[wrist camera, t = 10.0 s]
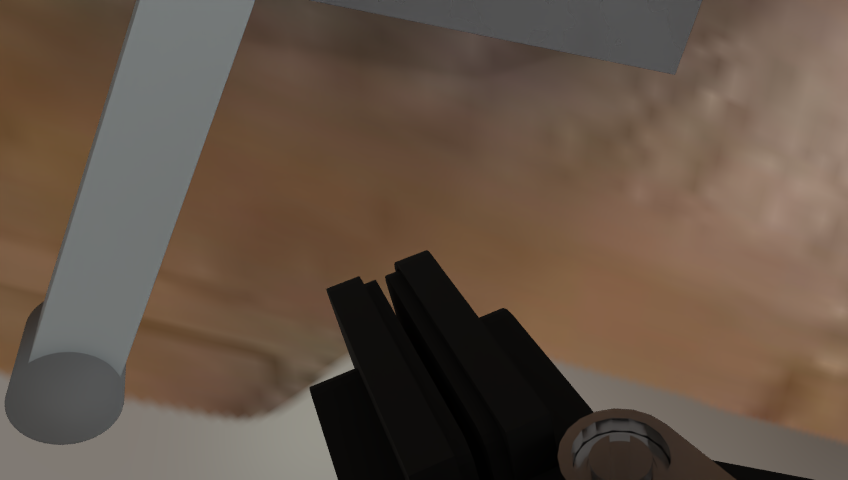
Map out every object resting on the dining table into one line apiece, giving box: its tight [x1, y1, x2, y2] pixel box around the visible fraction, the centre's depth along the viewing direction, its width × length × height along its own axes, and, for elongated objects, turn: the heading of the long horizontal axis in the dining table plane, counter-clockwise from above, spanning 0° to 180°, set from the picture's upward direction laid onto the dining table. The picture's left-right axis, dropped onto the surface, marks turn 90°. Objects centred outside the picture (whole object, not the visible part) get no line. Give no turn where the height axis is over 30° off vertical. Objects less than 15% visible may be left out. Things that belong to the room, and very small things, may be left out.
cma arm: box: [5, 0, 255, 445], centre depth 19 cm, size 4×21×4 cm, turn 155°
